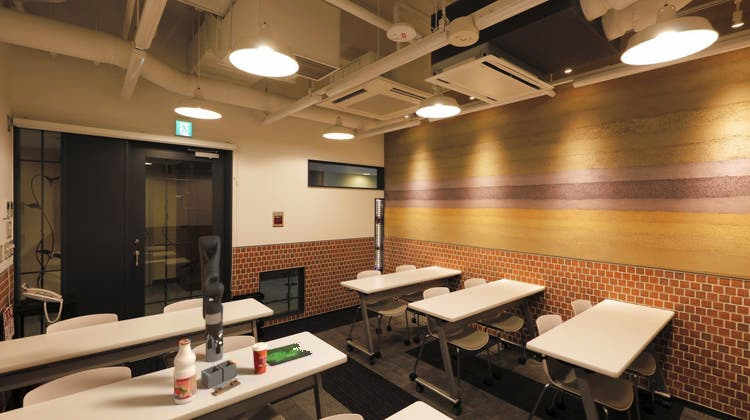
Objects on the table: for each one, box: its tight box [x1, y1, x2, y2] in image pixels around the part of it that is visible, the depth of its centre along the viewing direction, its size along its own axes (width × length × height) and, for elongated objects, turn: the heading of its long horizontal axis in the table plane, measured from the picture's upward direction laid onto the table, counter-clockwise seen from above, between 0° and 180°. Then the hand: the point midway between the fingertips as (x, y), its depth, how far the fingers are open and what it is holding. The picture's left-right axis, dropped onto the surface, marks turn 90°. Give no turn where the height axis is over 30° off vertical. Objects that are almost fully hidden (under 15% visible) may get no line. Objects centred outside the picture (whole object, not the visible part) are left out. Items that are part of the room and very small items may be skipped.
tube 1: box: [200, 365, 223, 390], centre depth 168 cm, size 7×7×7 cm
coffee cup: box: [251, 341, 269, 375], centre depth 180 cm, size 8×8×15 cm
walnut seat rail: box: [212, 380, 241, 397], centre depth 163 cm, size 3×13×2 cm, turn 144°
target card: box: [211, 377, 239, 390], centre depth 168 cm, size 4×12×1 cm, turn 144°
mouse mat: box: [266, 342, 313, 367], centre depth 202 cm, size 27×22×1 cm
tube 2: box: [215, 358, 238, 383], centre depth 175 cm, size 7×7×7 cm
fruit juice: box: [173, 338, 198, 405], centre depth 155 cm, size 9×9×28 cm
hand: (213, 351), depth 170 cm, fingers open, 8 cm apart
